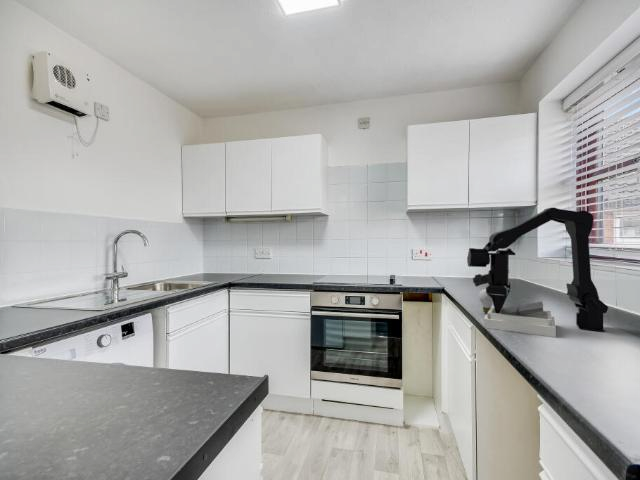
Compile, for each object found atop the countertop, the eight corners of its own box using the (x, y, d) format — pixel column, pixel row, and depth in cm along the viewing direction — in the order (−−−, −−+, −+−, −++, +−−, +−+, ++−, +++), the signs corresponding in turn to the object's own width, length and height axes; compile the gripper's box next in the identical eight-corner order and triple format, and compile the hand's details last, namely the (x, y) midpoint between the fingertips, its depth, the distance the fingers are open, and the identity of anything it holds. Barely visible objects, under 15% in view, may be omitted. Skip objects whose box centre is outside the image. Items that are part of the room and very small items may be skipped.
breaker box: (554, 325, 112) (553, 311, 112) (555, 337, 99) (555, 321, 99) (489, 317, 123) (489, 304, 123) (483, 327, 110) (483, 312, 110)
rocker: (543, 304, 112) (541, 301, 112) (543, 311, 102) (541, 307, 103) (499, 311, 120) (498, 308, 120) (496, 318, 110) (494, 314, 110)
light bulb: (491, 312, 133) (491, 288, 133) (497, 315, 127) (497, 290, 127) (476, 311, 134) (476, 287, 134) (482, 315, 128) (481, 290, 128)
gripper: (478, 264, 127) (478, 303, 127) (470, 268, 111) (469, 312, 112) (511, 266, 120) (510, 307, 121) (507, 270, 105) (506, 317, 105)
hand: (498, 310), depth 115 cm, fingers open, 9 cm apart
